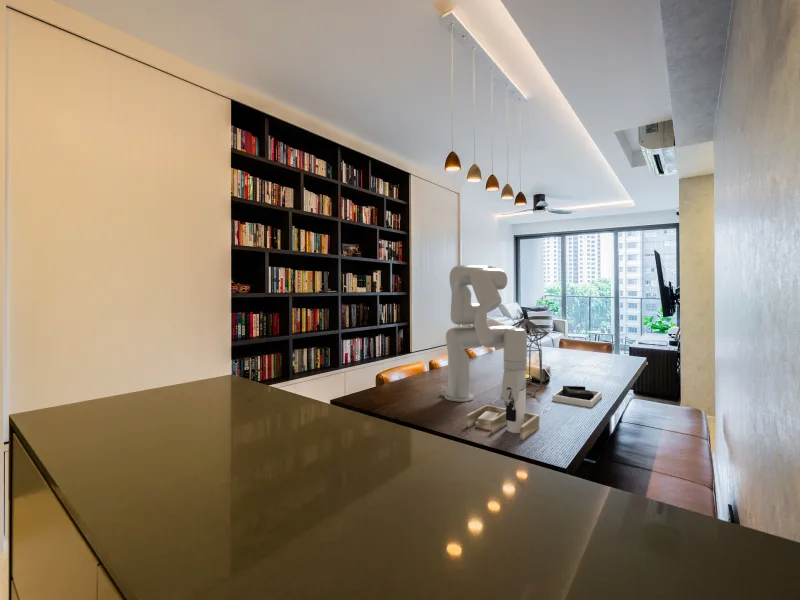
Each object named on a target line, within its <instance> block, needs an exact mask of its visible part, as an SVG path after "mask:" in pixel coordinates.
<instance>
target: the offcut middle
mask: <svg viewBox="0 0 800 600" xmlns="http://www.w3.org/2000/svg"><path fill="white" fill-rule="evenodd" d="M475 428H480V429H483V430H488V431H491V425H488V424H482V423H478V422H476V424H475Z"/></svg>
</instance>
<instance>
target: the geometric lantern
mask: <svg viewBox="0 0 800 600" xmlns="http://www.w3.org/2000/svg"><path fill="white" fill-rule="evenodd" d="M510 326H514V327H516V328H522V329H525V330H526V332H527V331H528V333H527V340H529V342H528V343H527V348H528V349H529V350H528V349H527V352H529V354H528V356H529V358H528V359H529V361H528V381H527V380H526V395H530V396H526V399H529V398H530V399H531V398H536V394H537V393H538V392H539V391H541V390H543V354H542V353H543V351H542V350H543V349H542V342H541V340H542V339H543V338H544V337H545V338H546V336H547V335H549V334H550V332H548V331H547V330H546V329H543V328H542V327H540V326H539V325H537V324H536V323H534V322H532V321H531V320H529V319H526V318H525V319H524V318H523V319H521V320H519V321H517V322H516V323H513V324H511V325H510ZM540 330H541V331H540ZM529 336H530V337H529ZM532 337H534V338H533V340H532ZM538 341H539V342H538ZM534 342H536V345H537V347H533V343H534ZM531 348H532V349H533V350H531ZM534 349H535V350H534ZM531 352H538V359H539V360H538V361H539V363H538V364H539V381H540V382H539V383H540V384H539V385H538V384H536V383H534V382H531ZM529 384H531V385H534V386H535V387H538V388H528V385H529ZM527 391H530V392H527Z"/></svg>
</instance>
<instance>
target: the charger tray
mask: <svg viewBox="0 0 800 600" xmlns="http://www.w3.org/2000/svg"><path fill="white" fill-rule="evenodd" d="M588 390H589V391H591V392H592V393H593V394H594V398H592V399H591V400H590V401H589V400H583V399H577V398H570V397H565V396H564V395H563V387H562V388H561V389H559V390H558V391H556V392H554V394H552V397H551V398H552V402H557V403H562V404H569V405H574V406H581V407H586V406H587V407H588V408H593V407H594V406H593V405H594V404H595V403H596V402H597V401H598V400H599V399H600V398H601V397H603V396H602V395H603V394H602V392H603V391H598V390H591V389H588ZM601 399H602V398H601ZM601 399H600V400H601ZM600 400H599V401H600ZM599 401H598V402H599ZM598 402H597V403H598ZM597 403H596V404H597ZM592 406H593V407H592ZM587 407H586V408H587Z"/></svg>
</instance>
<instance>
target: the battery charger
mask: <svg viewBox="0 0 800 600" xmlns="http://www.w3.org/2000/svg"><path fill="white" fill-rule="evenodd" d="M562 388H563V395H562V396H564V397H570V398H577V399H583V400H589V401H590V400H591V399H592V398H594V394H593V393H592V392H591V391H589V390H590V389H586V386H584V385H583V386H579V385H575V386H574V385H562Z"/></svg>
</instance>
